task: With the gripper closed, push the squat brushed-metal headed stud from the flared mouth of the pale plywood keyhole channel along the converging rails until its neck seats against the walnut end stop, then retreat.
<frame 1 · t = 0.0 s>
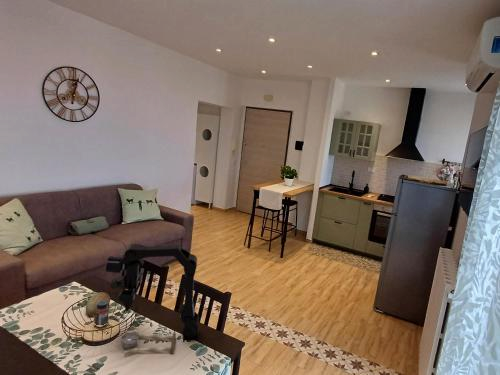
hand: (129, 304, 146), 15 cm above the table, fingers open, 9 cm apart
bread roll: (98, 309, 164), on the table
supplement bottle: (101, 324, 153), on the table
stud: (129, 345, 142), on the table
keyhole channel: (152, 345, 143), on the table
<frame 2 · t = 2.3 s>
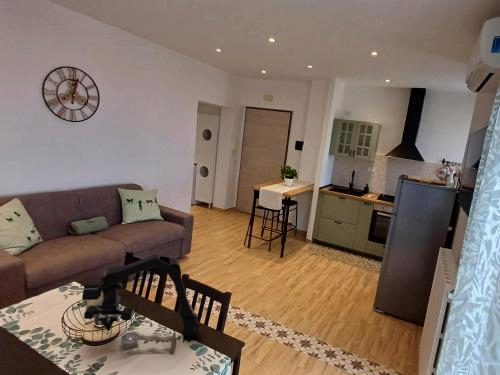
hand: (108, 330, 139), 7 cm above the table, fingers closed
nothing on the table moved.
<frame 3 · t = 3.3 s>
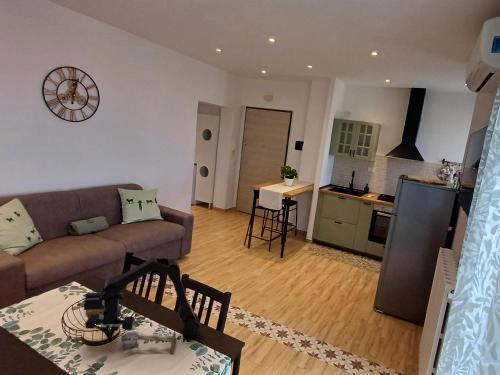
hand: (110, 339, 140), 2 cm above the table, fingers closed
nothing on the table moved.
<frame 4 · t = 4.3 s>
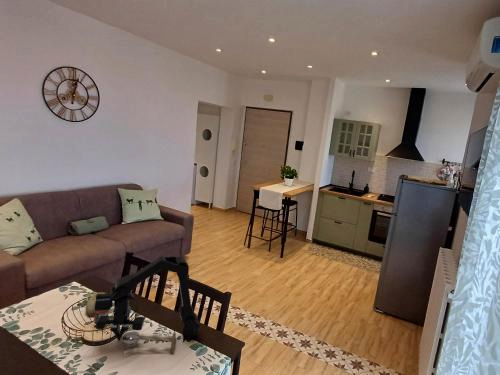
hand: (119, 340, 141), 2 cm above the table, fingers closed
stud: (130, 344, 142), on the table, touching gripper
everything else where it was.
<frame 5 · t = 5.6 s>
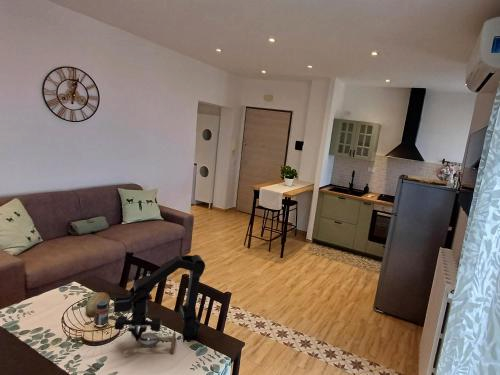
hand: (137, 340, 142), 2 cm above the table, fingers closed
stud: (147, 345, 143), on the table, touching gripper
everything else where it was.
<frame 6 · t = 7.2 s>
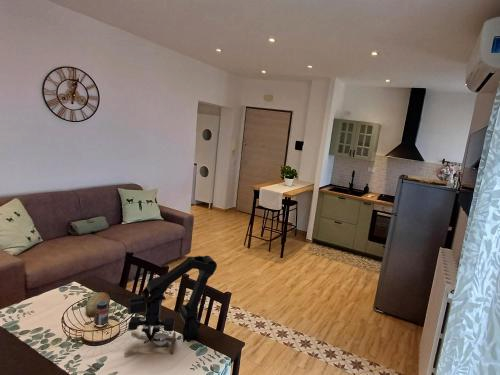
hand: (150, 340, 143), 2 cm above the table, fingers closed
stud: (160, 345, 144), on the table, touching gripper
everything else where it was.
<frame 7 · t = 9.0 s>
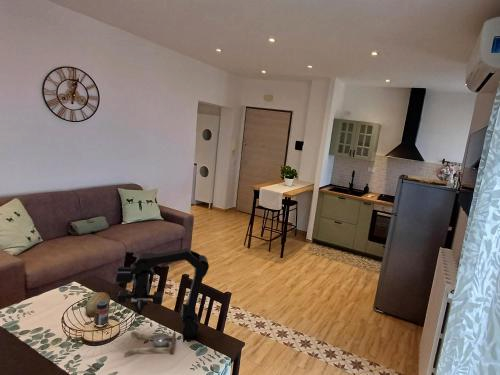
hand: (139, 314, 144), 12 cm above the table, fingers closed
stud: (160, 345, 144), on the table
everything else where it was.
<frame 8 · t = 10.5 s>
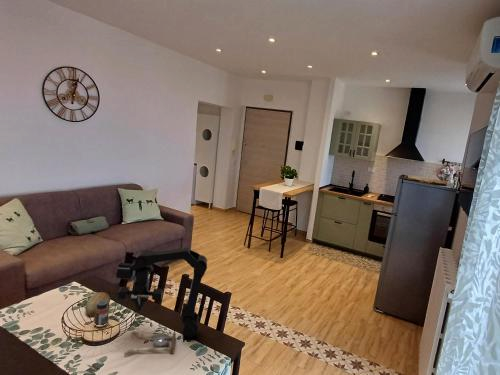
hand: (139, 310, 147), 12 cm above the table, fingers closed
nothing on the table moved.
at the end: stud 0.1 cm from the target spot, on the table; stud tilted 0°; stud moved 13.4 cm from its start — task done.
